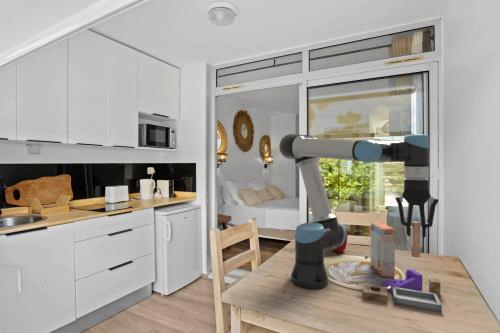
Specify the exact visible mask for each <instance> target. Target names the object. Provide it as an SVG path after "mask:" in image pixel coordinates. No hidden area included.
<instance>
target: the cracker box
mask: <svg viewBox="0 0 500 333" xmlns="http://www.w3.org/2000/svg"><path fill="white" fill-rule="evenodd" d="M395 261H396V229H395V228H393V227H392V226H389V225H388V224H386V223H384V222H371V223H370V266H371V268H373V270H374V271H376V273H378V275H379V276H381V277H386V278H387V277H388V278H395V277H396V276H395V272H396V262H395Z"/></svg>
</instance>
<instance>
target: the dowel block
mask: <svg viewBox="0 0 500 333" xmlns="http://www.w3.org/2000/svg"><path fill="white" fill-rule="evenodd" d="M370 289H371V290H370ZM362 290H363V291H362V294H363V296H362V298H363V299H364V300H368V301H369V300H370V301H376V302H382V303H385V304H386V303H387V304H388V303H389V302H388V301H389V300H388V299H389V298H388V290H387V287H386V286H383V285H377V284H375V283H367V282H364V283H363V288H362Z"/></svg>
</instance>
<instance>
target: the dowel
mask: <svg viewBox="0 0 500 333" xmlns="http://www.w3.org/2000/svg"><path fill="white" fill-rule="evenodd" d="M411 226H412V227H413V246H411V257H413V258H421V247H419V239H420V227H421V221H411Z"/></svg>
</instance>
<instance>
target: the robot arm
mask: <svg viewBox="0 0 500 333" xmlns="http://www.w3.org/2000/svg"><path fill="white" fill-rule="evenodd" d="M429 141H430V140H429V136H428V135H427V134H408V135H405V136H404V137H403V140H402V141H380V140H379V141H378V140H372V139H365V140H364V139H362V140H359V139H338V138H337V139H336V138H335V139H332V138H316V137H315V136H312V135H309V134H298V133H297V134H296V133H289V134H286V135H284V136H283V137H282V138H281V140H280V142H279V143H278V144H279V146H278V148H279V152H280V154H281V155H282V156H283V157H284V158H286V159H289V160H294V162H295V166H296V167H298V168H299V170H300V173H301V176H302V181H303V184H304V188H305V193H306V196H307V200H308V203H309V207H310V211H311V215H312V219H311V220H310V222H304V223H300V224H299V225H297V227H296V228H295V234H294V239H295V243H294V245H295V246H294V247H295V248H294V249H295V250H294V252H295V254H294V255H295V256H294V258H295V261H294V265H293V267H292V271H291V274H290V281H291V283H292V284H294V285H295V286H296V287H298V288H302V289H309V290H319V289H323V288H326V287H327V286H328V285H329V276H328V273H327V269H326V266H325V253H326V252H329V251H333V250H332V249H336V248H338V247H339V246H341V245H342V244H343V243H344V241H345V238H346V232H347V230H346V228H345V226H344V225H343V224H342V223H341V222H339V221H338V217H337V215H335V214H334V213H332V208H331V205H330V202H329V199H328V195H327V191H326V187H325V184H324V181H323V180H324V179H323V176H322V173H321V169H320V166H319V162H320V161H321V159H331V160H341V161H342V160H343V161H344V160H345V161H355V162H363V163H403V177H404V178H405V179H404V180H403V192H402V194H401V195H399V196H395V197H394V199H395V201H396V203H397V206H398V214H399V220H400V224H401V225H402V226H405V228H406V230H405V232H406V236H407V237H409V245H410V247H412V246H413V227H412V220H413V211H414V206H418V210H419V211H418V212H419V220H420V221H419V222H420V239H419V247H420V248H423V238H426V237H427V228H432V227H433V224H434V223H433V222H434V217H435V211H436V206H437V204H438V203H439V199H437V198H435V197H433V196H431V194H430V192H429V190H430V189H429V188H430V186H429V185H430V181H429V176H430V174H429V173H430V168H429V167H430V165H429V163H430V143H429ZM404 200H405V201H406V202H407V204H408V206H407V215H406V220H405V213H404V207H403V202H404ZM427 202H429V203H430V204H429V209H428V214H427V215H428V216H427V221H426V215H425V204H426V203H427ZM345 230H346V231H345Z"/></svg>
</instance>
